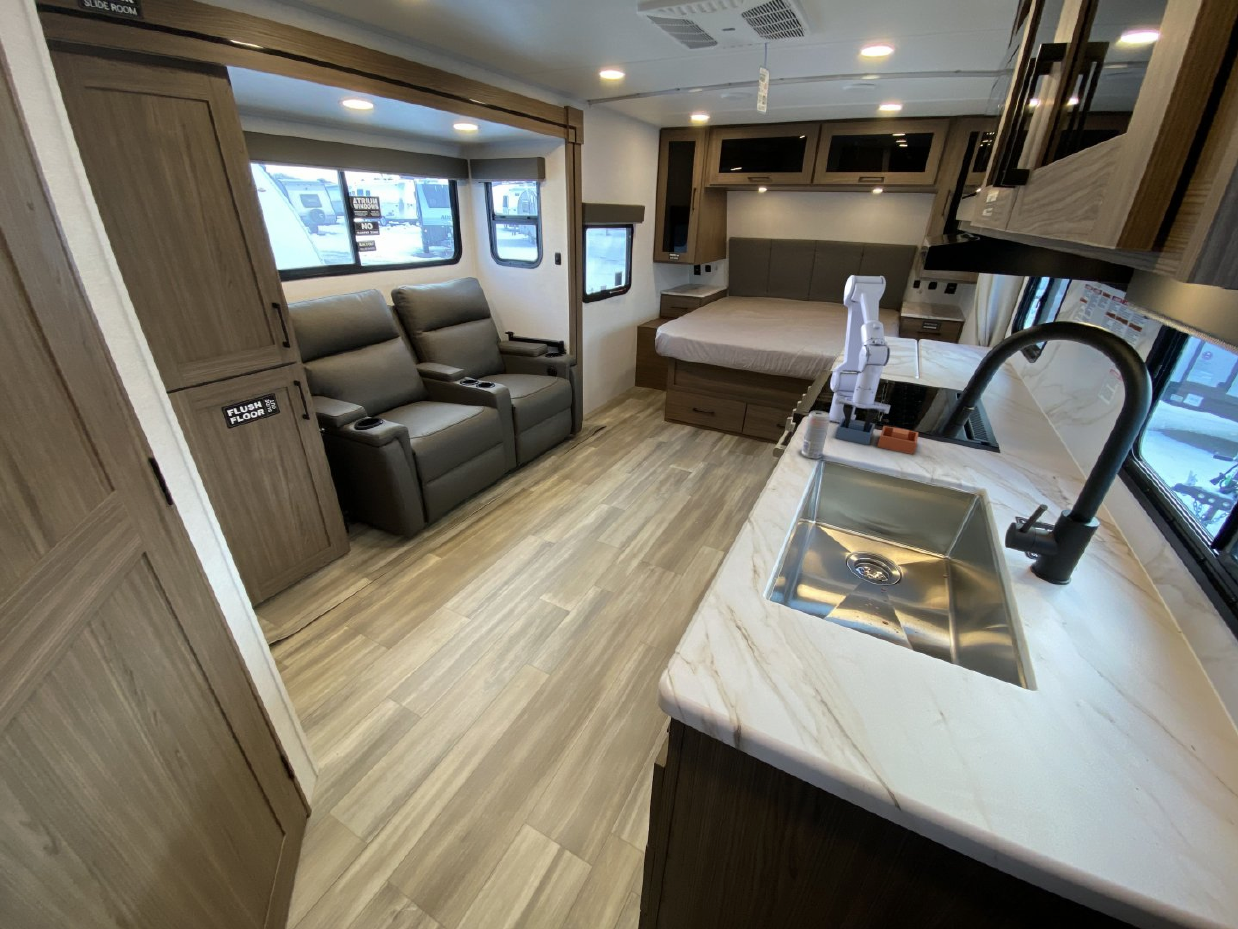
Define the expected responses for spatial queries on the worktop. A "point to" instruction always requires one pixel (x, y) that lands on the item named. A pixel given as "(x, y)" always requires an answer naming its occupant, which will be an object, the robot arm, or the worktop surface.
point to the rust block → (900, 433)
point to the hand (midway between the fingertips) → (855, 430)
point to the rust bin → (897, 441)
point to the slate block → (856, 425)
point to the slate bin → (854, 433)
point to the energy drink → (815, 434)
